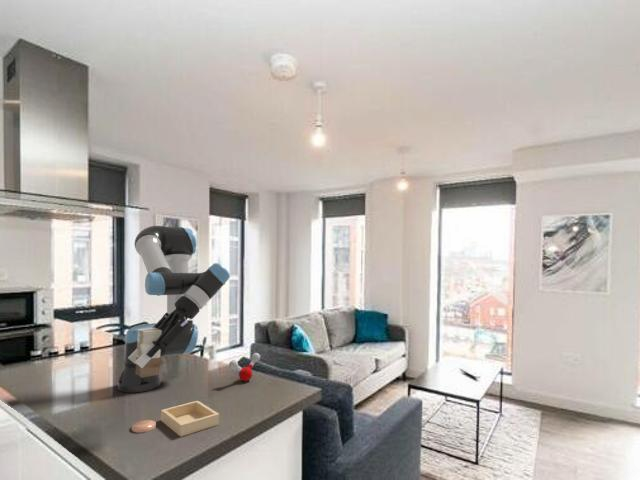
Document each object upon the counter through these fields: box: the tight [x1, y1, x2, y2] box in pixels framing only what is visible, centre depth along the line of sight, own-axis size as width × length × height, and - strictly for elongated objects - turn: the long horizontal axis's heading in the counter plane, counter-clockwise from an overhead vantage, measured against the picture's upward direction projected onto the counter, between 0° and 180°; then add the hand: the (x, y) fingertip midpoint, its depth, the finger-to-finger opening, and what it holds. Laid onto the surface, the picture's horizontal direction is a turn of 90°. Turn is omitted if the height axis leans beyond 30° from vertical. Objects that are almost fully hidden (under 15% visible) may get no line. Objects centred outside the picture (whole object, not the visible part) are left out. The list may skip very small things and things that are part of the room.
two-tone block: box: [136, 328, 162, 378], centre depth 110 cm, size 5×5×13 cm
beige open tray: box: [160, 400, 220, 438], centre depth 114 cm, size 14×12×4 cm
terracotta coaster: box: [131, 419, 157, 434], centre depth 109 cm, size 6×6×1 cm
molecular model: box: [228, 352, 261, 382], centre depth 155 cm, size 18×6×10 cm, turn 156°
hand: (134, 362), depth 108 cm, fingers closed on two-tone block, 5 cm apart
